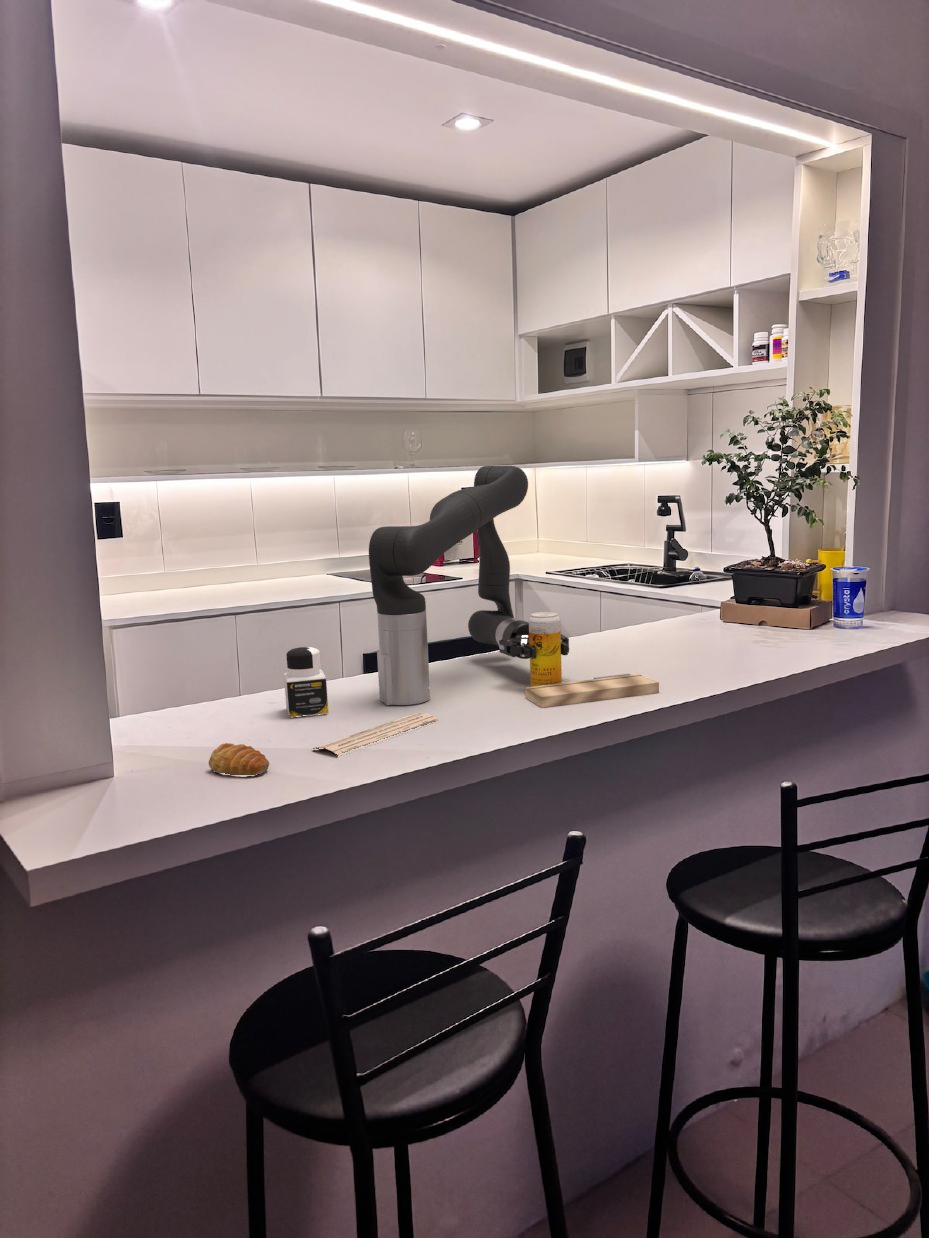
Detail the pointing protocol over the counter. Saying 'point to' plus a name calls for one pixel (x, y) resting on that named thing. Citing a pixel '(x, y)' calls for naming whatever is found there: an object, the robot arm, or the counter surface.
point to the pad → (612, 676)
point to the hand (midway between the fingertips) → (550, 651)
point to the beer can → (545, 648)
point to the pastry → (238, 760)
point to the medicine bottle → (305, 683)
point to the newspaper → (379, 733)
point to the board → (591, 690)
